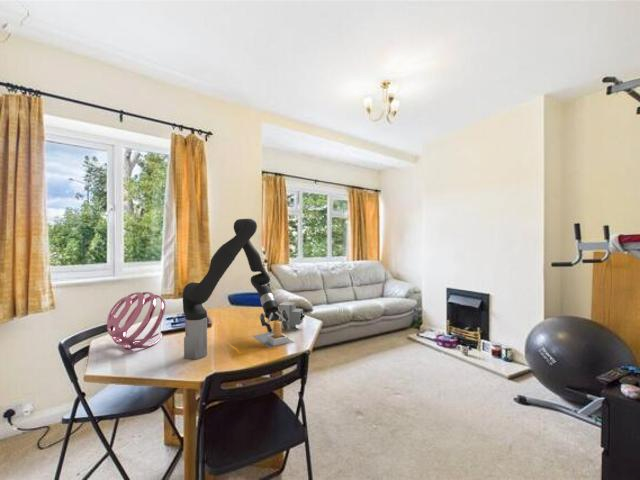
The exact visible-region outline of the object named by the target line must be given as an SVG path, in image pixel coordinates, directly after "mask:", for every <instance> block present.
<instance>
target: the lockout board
mask: <svg viewBox="0 0 640 480" xmlns="http://www.w3.org/2000/svg"><path fill="white" fill-rule="evenodd" d="M252 338H254V339H255V340H257V341H259V342H260V343H261V344H262V345H264V346H266V347H267V348H269V349H270V348H274V347H275V348H276V347H278V346H283V345H287V344H293V343H294V340H291V339H290V338H289V336H287V335H286V334H284V333H282V337H281V338H276V339H274V331H272V332H271V333H269V332H266V333H261V334H260V333H259V334H255V335H252Z"/></svg>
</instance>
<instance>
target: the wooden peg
mask: <svg viewBox="0 0 640 480" xmlns="http://www.w3.org/2000/svg"><path fill="white" fill-rule="evenodd" d="M282 330H283V329H282V322H281V321H278V320H277V321H273V332H274V339H276V338H281V337H282V334H283V333H282Z"/></svg>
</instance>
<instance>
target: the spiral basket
mask: <svg viewBox="0 0 640 480" xmlns="http://www.w3.org/2000/svg"><path fill="white" fill-rule="evenodd" d="M145 295H149V296H147V297H145ZM132 297H133V298H132ZM157 299H159V300H160V302H161V303H160V304H161V305H160V310H159V314H158V316H157V318H156V320H155V322H154V324H153V325H152V327H151V328H150V330H149V332H148V333H147V334H146V335H145V336H144V337H143V338H138V337H139V336H140V335H141V334H142V333H143V331H144V330H145V329H146V328H147V326H148V325H149V323H150V321H151V319H152V318H153V316H154V313H155V310H156V308H157ZM136 301H137V305H136V306H135V307H134V309H133V310H132V311H131V312H130V314H129V315H128V317H127V319H126V320H125V323H124V325H123V326H122V327H120V328H119V326H120V323H121V321H122V320H123V319H124V317H126V315H127V313H128V312H129V310H130V308H131V307H132V305H133V304H135V302H136ZM149 302H150V305H149V307H148V308H149V309H148V311H147V313H146V315H145V317H144V319H143V320H142V321H141V323H140V325H139V326H138V327H137V328H136V329H135V331H134V332H132V333H131V334H130V335H129V336H127V333H128V330H129V329H130V328H131V327H132V326H133V325H134V323H135V322H136V321H137V320H138V318H139V316H140V314H142V313H141V312H142V310H143V308H144V306H145V305H146V304H147V303H149ZM124 303H125V304H124ZM123 304H124V307H123V308H122V310H121V311H120V312H119V314H118V316H117V317H116V314H117V312H118V311H119V309H120V308H121V307H122V306H123ZM165 312H166V302H165V299H164V298H163V297H162V296H161V295H158V294H154V293H153V292H151V291H144V292H140V291H139V292H138V291H137V292H132V293H130V294H128V295H126V296H124V297H122V298H120V299H119V300H118V301H116V303H114V305H113V306H112V307H111V309H110V311H109V312H108V315H107V319H106V330H107V332H108V333H107V334H108V336H110V337H111V339H112V341H113V342H114V343H115V344H117V345H119V346H122V347H123V348H125V349H126V348H127V350H136V349H145V348H146V347H147V348H150V347H153V346H155V345H156V344H158V343H159V342H160V341H161V339H162V338H163V334H160V333H156V331H157V330H158V328H159V326H160V325H161V322H162V321H163V318H164V315H165ZM111 327H112V328H111ZM111 329H112V330H111ZM155 333H156V334H155ZM158 335H160V336H159V337H158V339H157V340H156V341H154V342H153V343H151V344H150V343H149V344H146V345H145V343H147V342H148V341H149V340H152V339H153V338H156V337H157V336H158ZM135 341H140V342H138V343H133V342H135ZM154 344H155V345H154ZM152 345H153V346H152ZM147 348H146V349H147Z"/></svg>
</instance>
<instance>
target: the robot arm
mask: <svg viewBox="0 0 640 480" xmlns="http://www.w3.org/2000/svg"><path fill="white" fill-rule="evenodd" d="M257 229H258V223H257V222H256V220H255V219H253V218H238V219H236V220H235V221H234V223H233V231H234V233H235V235H234V236H233V237H232V238H231V239H229V240H227V241H226V242H224V243H223V244H222V245H221V246H220V247H218V249H217V250H216V251H215V253H214V254H213V256H212V257H211V259H210V263H209V268H208V271H207V272H206V274H205V276H204V277H203V278H202V279H201V281H200V282H194V281H193V282H188V283H187V284H186V285H185V286H184V287H183V291H182V308H183V313H184V316H185V317H184V318H185V319H184V320H185V321H184V322H185V327H184V328H185V331H184V334H185V336H184V337H183V359H184V360H185V359H186V360H187V359H188V360H195V361H196V360H198V359H202V358H205V357H206V356H207V355H208V312H207V310H206V309H205V307H204V306H203V304H205V303H206V302H208V300H209V299H210V297H211V295H212V294H213V292H214V291H215V288H216V287H217V285H218V283H219V282H220V280H221V278H222V277H223V276H224V274H225V272H227V270H228V268H229V267H230V266H231V264H232V263H233V262H234V261H235V259H236V257H237V256H238V255H239V253H240V252H241V250H243V252H244V254H245V257H246V260H247V262H248V266H249V269H250V271H251V272H253V273H257V272H258V273H257V274H254V275H252V276H251V277H250V283H251V285H252V287H253V288H254V289H255V291H257V294H258V296H259V299H260V304H261V306H262V310H263V313H260V315H259V320H260V323H261V326H262V327H265V328H266V330H267V333H271V332H273V330H272V326H271V324H270V323H271V322H275V321H281V322H282V323H283V327H284V329H283V330H284V331H287V330H288V329H287V327H288V326H287V323H286V322H287V321H288V319H289V318H288V316H287V314H286V312H285V310H283V311H282V312H280V311H279V305H278V304H277V301H276V298H275V295H273V292H272V289H271V287H270V286H269V285H268V284H270V282H271V277H270V275H269V274H268V272H267V270H266V269H265V266H264V264H263V262H262V258H261V255H260V253H259V252H258V250H257V249H256V248H255V246H254V245H253V242H251V240H250V239H251V238H252V237H253V236H255V234H256V232H257ZM280 314H281V315H282V316H281V315H280ZM265 318H266V319H267V320H266V319H265Z"/></svg>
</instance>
